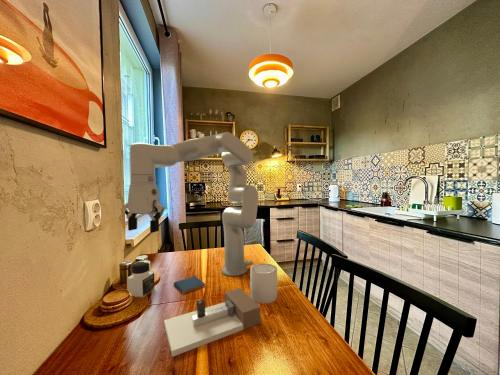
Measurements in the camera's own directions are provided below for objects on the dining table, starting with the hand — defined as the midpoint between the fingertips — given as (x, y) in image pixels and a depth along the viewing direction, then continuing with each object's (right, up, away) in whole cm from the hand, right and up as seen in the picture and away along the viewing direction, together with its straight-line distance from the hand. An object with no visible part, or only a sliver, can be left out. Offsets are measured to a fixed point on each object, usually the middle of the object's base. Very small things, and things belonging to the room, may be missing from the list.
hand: (143, 230), depth 74 cm
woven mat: (+11, -28, +18) cm, 35 cm away
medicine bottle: (-7, -27, +13) cm, 31 cm away
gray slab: (+25, -27, -7) cm, 38 cm away
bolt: (+25, -25, -7) cm, 36 cm away
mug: (+41, -27, +10) cm, 50 cm away
